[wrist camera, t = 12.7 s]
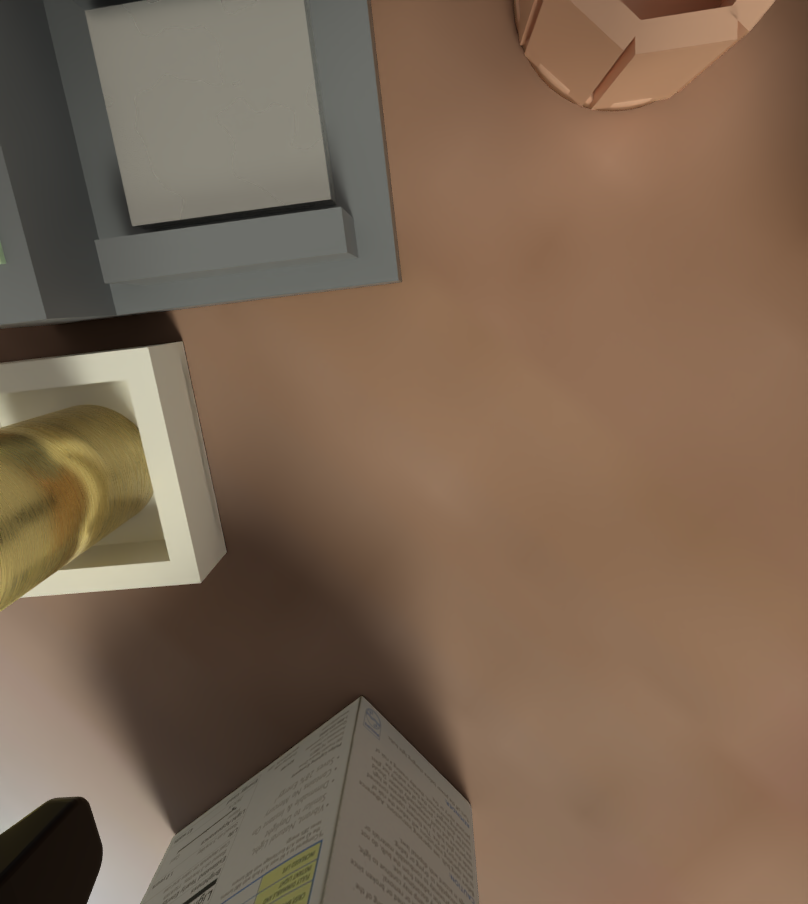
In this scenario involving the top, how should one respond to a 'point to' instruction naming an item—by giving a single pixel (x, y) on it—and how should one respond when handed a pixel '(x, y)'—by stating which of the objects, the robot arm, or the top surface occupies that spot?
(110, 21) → the plate
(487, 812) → the top surface
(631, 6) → the cup
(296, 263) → the grey holder
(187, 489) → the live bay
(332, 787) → the light bulb box
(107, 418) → the cell
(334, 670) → the top surface
